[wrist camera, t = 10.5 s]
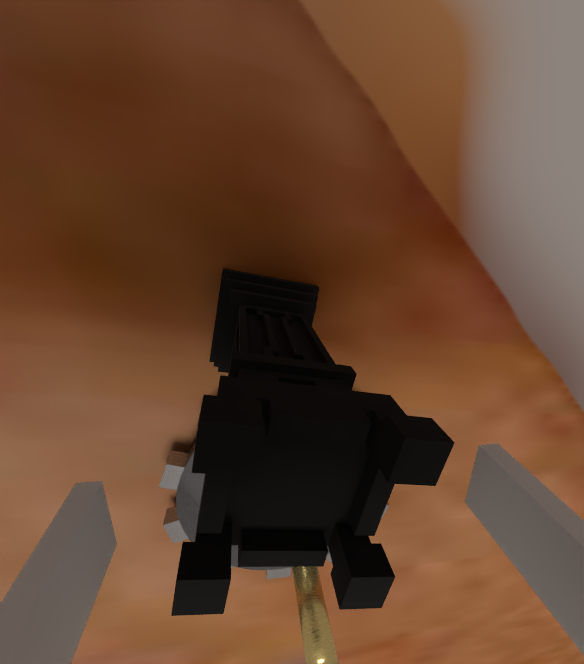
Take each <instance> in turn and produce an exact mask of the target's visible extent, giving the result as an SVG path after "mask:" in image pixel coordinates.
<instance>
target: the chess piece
mask: <svg viewBox="0 0 584 664" xmlns="http://www.w3.org/2000/svg"><path fill="white" fill-rule="evenodd" d="M318 291H319V287H318V286H315V285H310V284H304V283H299V282H294V281H288V280H283V279H277V278H272V277H267V276H261V275H256V274H250V273H245V272H240V271H234V270H229V269H223V271H222V278H221V285H220V292H219V299H218V306H217V313H216V320H215V327H214V334H213V341H212V348H211V355H210V362H214V366H216V367H218V371H219V372H227V373H229V374H228V376H220V381H219V388H218V394H217V396H211V395H204V397H203V402H202V407H201V412H200V417H199V423H198V430H197V437H196V444H195V451H194V458H193V465H192V472H191V473H200V474H205V477H204V483H203V490H202V496H201V502H200V509H199V515H198V522H197V530H196V537H195V542H183V544H182V550H181V556H180V562H179V568H178V574H177V579H176V586H175V593H174V601H173V608H172V615H171V616H176V615H203V614H223V613H224V608H225V604H226V599H227V595H228V590H229V585H230V581H231V549H232V545H238V567H308V566H324V563H325V560H326V557H327V554H328V548H329V552H330V556H331V560H332V564H333V568H332V571H331V577H332V581H333V585H334V589H335V593H336V597H337V601H338V605H339V609H365V608H382V606H383V603H384V601H385V599H386V596H387V594H388V592H389V590H390V587H391V585H392V583H393V581H394V578H395V575H394V573H393V571H392V568H391V566H390V564H389V561H388V559H387V557H386V554H385V552H384V550H383V547H382V545H381V544H371V542H370V539H369V537H368V536H374V535H375V533H376V530H377V528H378V525H379V523H380V520H381V517H382V515H383V512H384V510H385V507H386V505H387V502H388V500H389V497H390V494H391V492H392V489H393V487H394V484H410V485H429V486H436V483H437V481H438V479H439V477H440V474H441V472H442V470H443V468H444V465H445V463H446V461H447V458H448V456H449V454H450V452H451V449H452V447H453V445H454V442H453V441H452V439H451V438H450V437H449V436H448V435H447V434H446V433H445V432H444V431H443V430H442V429H441V428H440V427H439V426H438V424H437V423H436V422H435V421H434V420H433V419H432V418H425V417H415V416H407V415H406V414H405V413H404V411H403V410H402V409H401V408H400V407H399V405H398V404H397V403H396V402H395V401H394V399H393V398H392V397H391V396H390V395H384V394H375V393H367V392H358V391H352V387H353V384H354V381H355V378H356V373H355V371H354V370H353V369H352V367H351V366H345V365H337V364H335V363H334V361H333V360H332V358H331V356H330V355H329V353H328V352H327V350H326V348H325V347H324V345H323V344H322V342H321V340H320V339H319V337H318V336H317V334H316V333H315V331H314V329H313V328H312V322H313V317H314V313H315V309H316V302H317V298H318V296H317V295H318ZM327 546H328V548H327Z"/></svg>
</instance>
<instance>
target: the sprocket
mask: <svg viewBox="0 0 584 664" xmlns="http://www.w3.org/2000/svg"><path fill="white" fill-rule="evenodd" d="M199 417H200V415H199ZM198 423H199V420H198ZM197 427H198V425H197ZM195 444H196V441H195V443H194V444H193V446H192V447H191V449H190V450H189V452H188V453H183V452H178V451H173V450H170V453H169V456H168V459H167V463H166V466H165V469H164V472H163V475H162V478H161V482H160V485H159V487H162V488H168V489H174V490H177V494H176V506H175V507H172V508H168V509H167V510H166V514H165V519H164V523H163V526H164V528H165V530H166V532H167V533H168V535H169V537H170V538H171V540H172V542H173V543H176V542H179V541H182V540H185V539H188V538H189V539H190V541H191V542H195V537H196V530H197V522H198V515H199V509H200V502H201V496H202V490H203V483H204V477H205V474H200V473H191V472H192V465H193V458H194V451H195ZM388 507H389V504H388V502H387V505H386V507H385V510H384V512H383V515H384V514H385V512H386V510H387V509H388ZM383 515H382V517H383ZM382 517H381V519H382ZM327 548H328V546H327ZM326 559H327V560H328V561H329V562H330V563H331V562H332V560H331V556H330V552H329V548H328V554H327V557H326ZM233 566H235V567H238V545H232V549H231V568H232V567H233ZM239 568H245V569H253V570H266V579H272V578H281V577H289V576H290V572H291V567H239ZM292 570H293V577H294V584H295V591H296V597H297V604H298V611H299V618H300V624H301V631H302V638H303V645H304V651H305V658H306V664H338V659H337V655H336V650H335V646H334V641H333V636H332V632H331V627H330V623H329V618H328V614H327V609H326V604H325V600H324V595H323V591H322V586H321V582H320V577H319V573H318V568H317V566H308V567H292Z"/></svg>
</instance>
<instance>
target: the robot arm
mask: <svg viewBox="0 0 584 664" xmlns="http://www.w3.org/2000/svg"><path fill="white" fill-rule="evenodd" d="M465 503H466V504H467V505H468V506H469V508H470V509H471V510H472V512H473V513H474V514H475V515H476V517H477V518H478V519H479V521H480V522H481V523H482V524H483V526H484V527H485V528H486V530H487V531H488V532H489V534H490V535H491V536H492V537H493V539H494V540H495V541H496V543H497V544H498V545H499V546H500V548H501V549H502V550H503V552H504V553H505V554H506V555H507V557H508V558H509V559H510V561H511V562H512V563H513V564H514V566H515V567H516V568H517V570H518V571H519V572H520V573H521V575H522V576H523V577H524V579H525V580H526V581H527V583H528V584H529V585H530V586H531V588H532V589H533V590H534V592H535V593H536V594H537V595H538V597H539V598H540V599H541V601H542V602H543V603H544V604H545V606H546V607H547V608H548V610H549V611H550V612H551V613H552V615H553V616H554V617H555V619H556V620H557V621H558V622H559V624H560V625H561V626H562V628H563V629H564V630H565V631H566V633H567V634H568V635H569V637H570V638H571V639H572V641H573V642H574V643H575V644H576V646H577V647H578V648H579V650H580V651H581V652H582V653H583V655H584V520H583V519H581V518H580V517H579V516H578V515H577V514H576V513H575V512H574V511H572V510H571V509H570V508H569V507H568V506H567V505H566V504H565V503H564V502H562V501H561V500H560V499H559V498H558V497H557V496H556V495H555V494H553V493H552V492H551V491H550V490H549V489H548V488H547V487H546V486H545V485H543V484H542V483H541V482H540V481H539V480H538V479H537V478H536V477H534V476H533V475H532V474H531V473H530V472H529V471H528V470H527V469H526V468H524V467H523V466H522V465H521V464H520V463H519V462H518V461H517V460H515V459H514V458H513V457H512V456H511V455H510V454H509V453H508V452H507V451H505V450H504V449H503V448H502V447H501V446H500V445H499V444H498V443H497V444H486V445H479V447H478V451H477V455H476V459H475V463H474V467H473V471H472V475H471V479H470V483H469V487H468V491H467V495H466V499H465ZM116 544H117V542H116V538H115V534H114V530H113V526H112V521H111V517H110V513H109V509H108V505H107V501H106V496H105V492H104V488H103V484H102V481H96V482H85V483H76V484H75V485H74V487H73V488H72V490H71V492H70V493H69V495H68V496H67V498H66V500H65V501H64V503H63V504H62V506H61V508H60V509H59V511H58V512H57V514H56V516H55V517H54V519H53V521H52V522H51V524H50V525H49V527H48V529H47V530H46V532H45V533H44V535H43V537H42V538H41V540H40V541H39V543H38V545H37V546H36V548H35V549H34V551H33V553H32V554H31V556H30V557H29V559H28V561H27V562H26V564H25V565H24V567H23V569H22V570H21V572H20V573H19V575H18V577H17V578H16V580H15V581H14V583H13V585H12V586H11V588H10V589H9V591H8V593H7V594H6V596H5V597H4V599H3V601H2V602H1V604H0V664H71V662H72V659H73V656H74V654H75V651H76V649H77V646H78V643H79V641H80V638H81V636H82V633H83V630H84V628H85V625H86V623H87V620H88V617H89V615H90V612H91V610H92V607H93V604H94V602H95V599H96V596H97V594H98V591H99V589H100V586H101V583H102V581H103V578H104V576H105V573H106V570H107V568H108V565H109V563H110V560H111V557H112V555H113V552H114V550H115V547H116Z"/></svg>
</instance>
